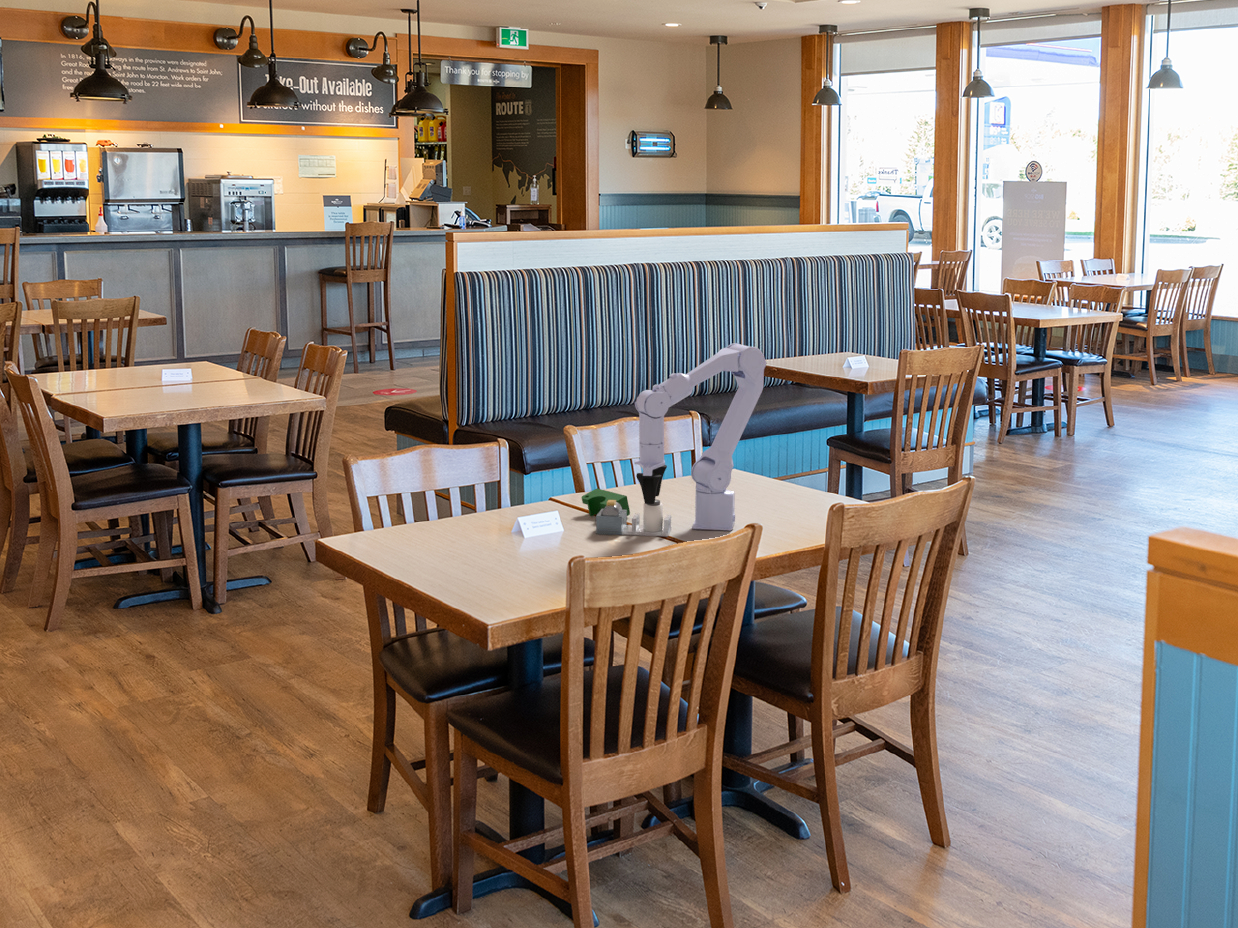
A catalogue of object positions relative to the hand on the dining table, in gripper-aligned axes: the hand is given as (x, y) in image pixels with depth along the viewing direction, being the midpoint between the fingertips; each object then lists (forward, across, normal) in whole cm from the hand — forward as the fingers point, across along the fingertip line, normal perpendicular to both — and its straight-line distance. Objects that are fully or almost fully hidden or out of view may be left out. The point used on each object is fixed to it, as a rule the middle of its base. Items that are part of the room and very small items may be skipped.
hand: (652, 499), depth 286 cm
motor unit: (+8, 0, -4) cm, 9 cm away
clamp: (+8, -13, -14) cm, 21 cm away
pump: (+7, 0, 0) cm, 7 cm away
